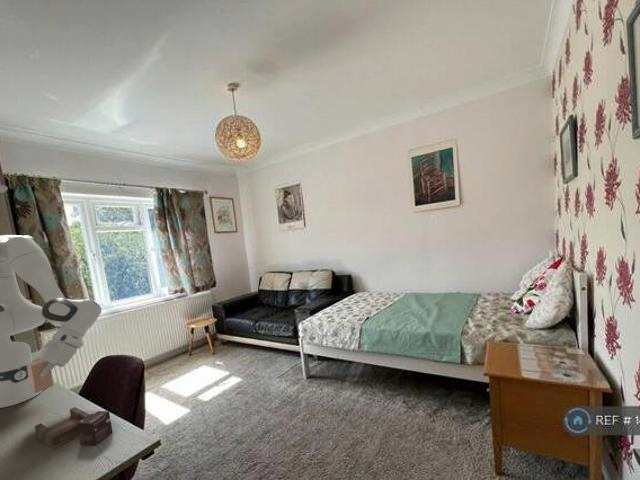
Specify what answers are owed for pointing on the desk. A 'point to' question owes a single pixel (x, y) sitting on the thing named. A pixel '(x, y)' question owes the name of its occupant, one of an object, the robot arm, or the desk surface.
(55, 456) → the desk surface
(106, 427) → the box
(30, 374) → the block
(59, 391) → the desk surface
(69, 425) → the cradle
